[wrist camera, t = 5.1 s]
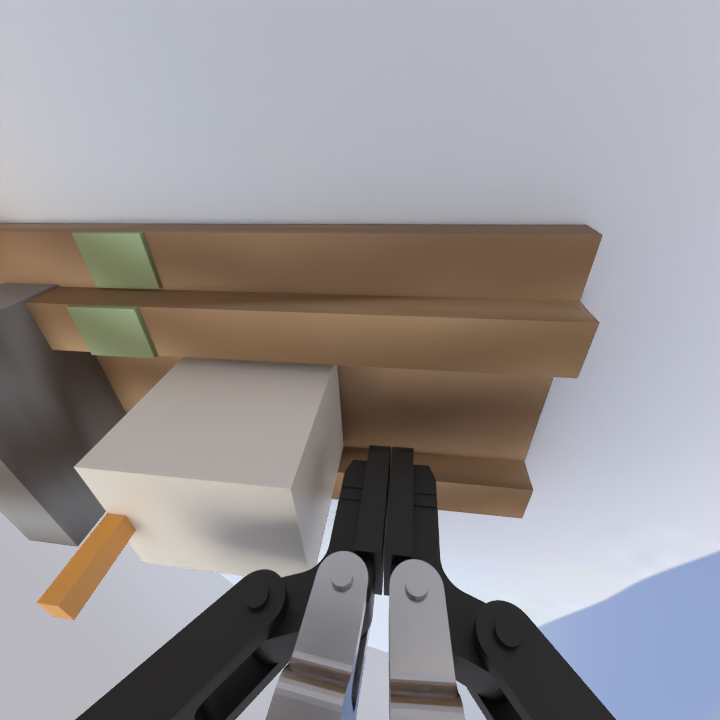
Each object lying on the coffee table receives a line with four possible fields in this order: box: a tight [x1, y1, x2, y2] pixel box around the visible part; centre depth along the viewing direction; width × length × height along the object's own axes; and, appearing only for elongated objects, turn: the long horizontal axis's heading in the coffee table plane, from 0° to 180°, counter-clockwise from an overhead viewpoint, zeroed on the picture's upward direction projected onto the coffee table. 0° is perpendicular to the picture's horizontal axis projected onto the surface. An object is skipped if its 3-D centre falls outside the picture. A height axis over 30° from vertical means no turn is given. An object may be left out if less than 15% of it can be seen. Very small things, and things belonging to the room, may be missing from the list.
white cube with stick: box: [37, 357, 344, 620], centre depth 12 cm, size 5×6×8 cm
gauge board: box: [0, 224, 602, 546], centre depth 14 cm, size 14×22×6 cm, turn 91°
